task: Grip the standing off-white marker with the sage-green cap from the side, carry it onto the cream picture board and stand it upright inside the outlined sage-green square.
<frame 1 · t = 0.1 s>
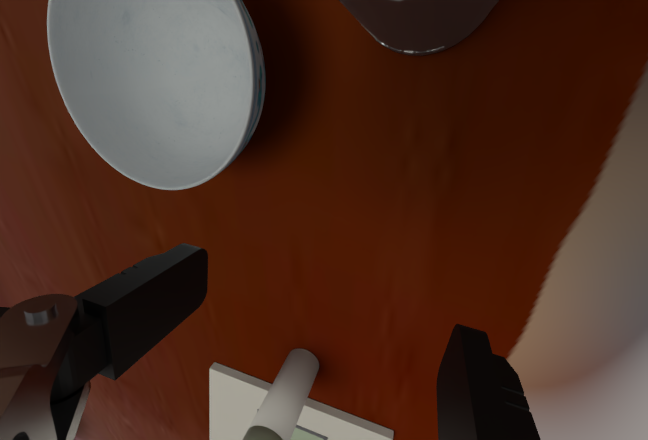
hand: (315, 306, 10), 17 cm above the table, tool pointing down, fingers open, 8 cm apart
chinaware: (218, 78, 27), on the table
marker: (303, 362, 35), on the table
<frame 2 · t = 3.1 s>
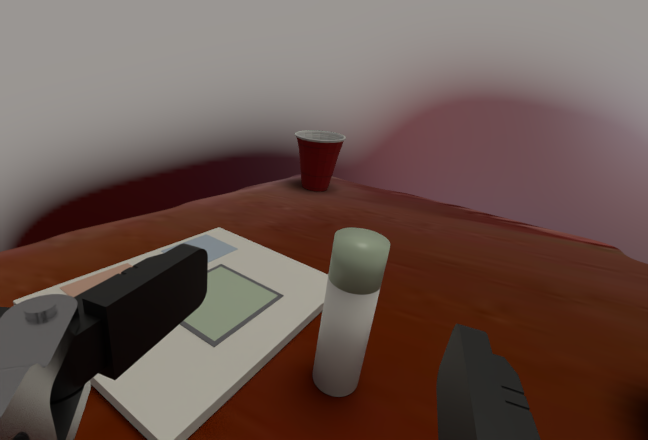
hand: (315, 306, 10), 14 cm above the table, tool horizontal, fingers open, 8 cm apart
plastic cup: (313, 188, 72), on the table
marker: (335, 376, 25), on the table
picture board: (203, 298, 32), on the table
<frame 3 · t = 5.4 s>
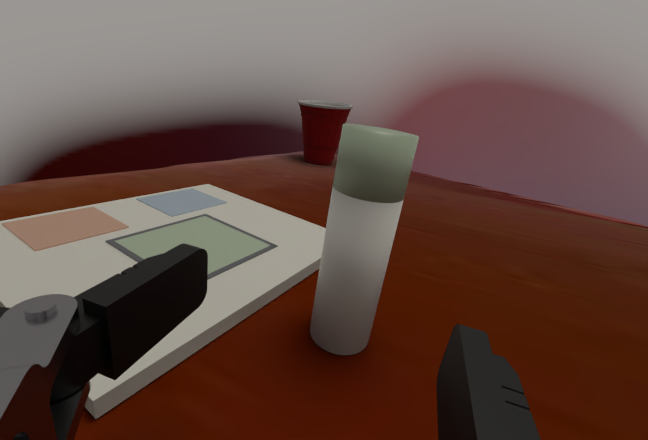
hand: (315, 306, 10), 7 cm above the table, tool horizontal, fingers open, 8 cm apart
plastic cup: (317, 162, 67), on the table
marker: (339, 332, 19), on the table
picture board: (180, 247, 26), on the table
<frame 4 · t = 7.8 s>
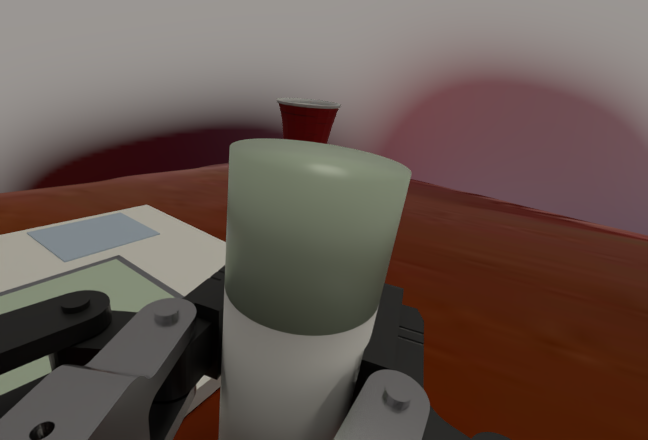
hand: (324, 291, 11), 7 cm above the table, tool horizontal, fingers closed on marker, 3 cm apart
plastic cup: (300, 170, 58), on the table
picture board: (61, 314, 18), on the table
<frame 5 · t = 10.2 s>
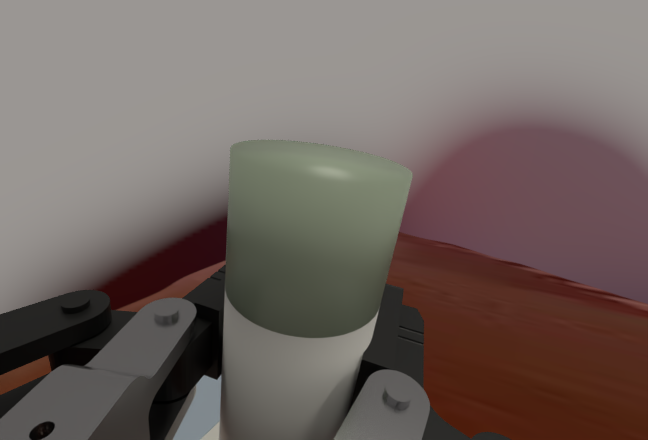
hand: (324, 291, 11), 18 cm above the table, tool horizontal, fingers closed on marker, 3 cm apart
when the fingers open (10 cm above the table, at t = 12.5 s): marker drops 1 cm, resting on picture board.
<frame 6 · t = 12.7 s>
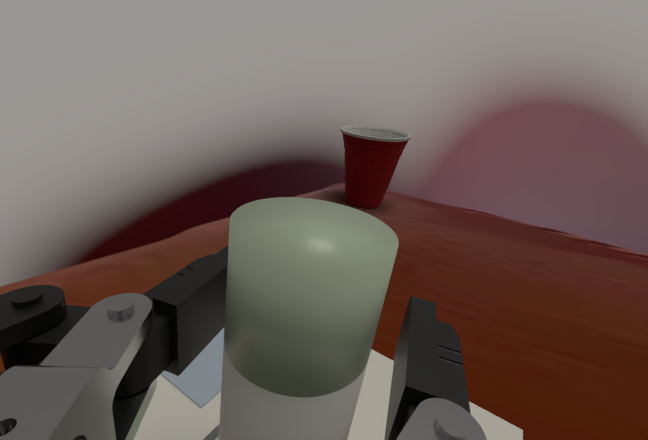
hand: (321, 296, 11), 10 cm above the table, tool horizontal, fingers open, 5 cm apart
plastic cup: (361, 204, 53), on the table
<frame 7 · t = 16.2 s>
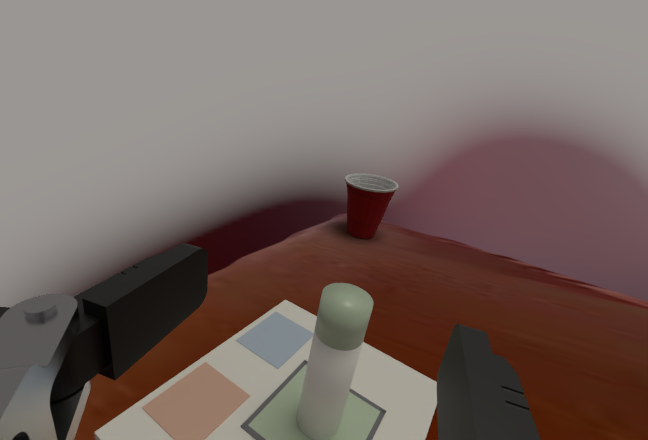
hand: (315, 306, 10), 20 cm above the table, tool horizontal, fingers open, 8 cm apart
plastic cup: (359, 234, 69), on the table
marker: (318, 418, 26), point 1 cm above the table, touching picture board
picture board: (296, 413, 28), on the table
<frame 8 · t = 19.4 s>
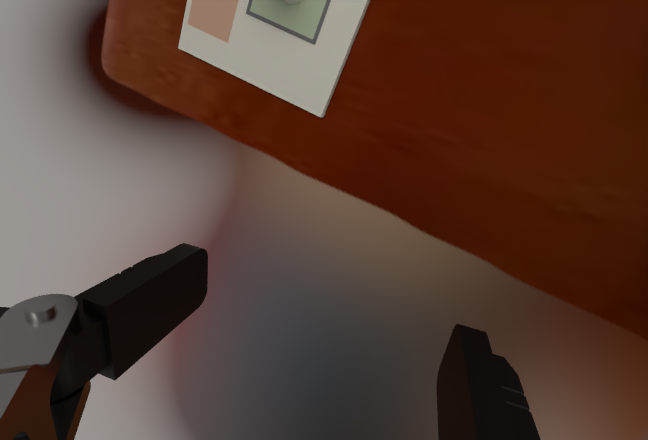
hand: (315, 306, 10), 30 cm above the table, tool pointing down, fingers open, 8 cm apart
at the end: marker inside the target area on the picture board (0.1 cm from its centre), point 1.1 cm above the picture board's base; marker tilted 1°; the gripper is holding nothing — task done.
